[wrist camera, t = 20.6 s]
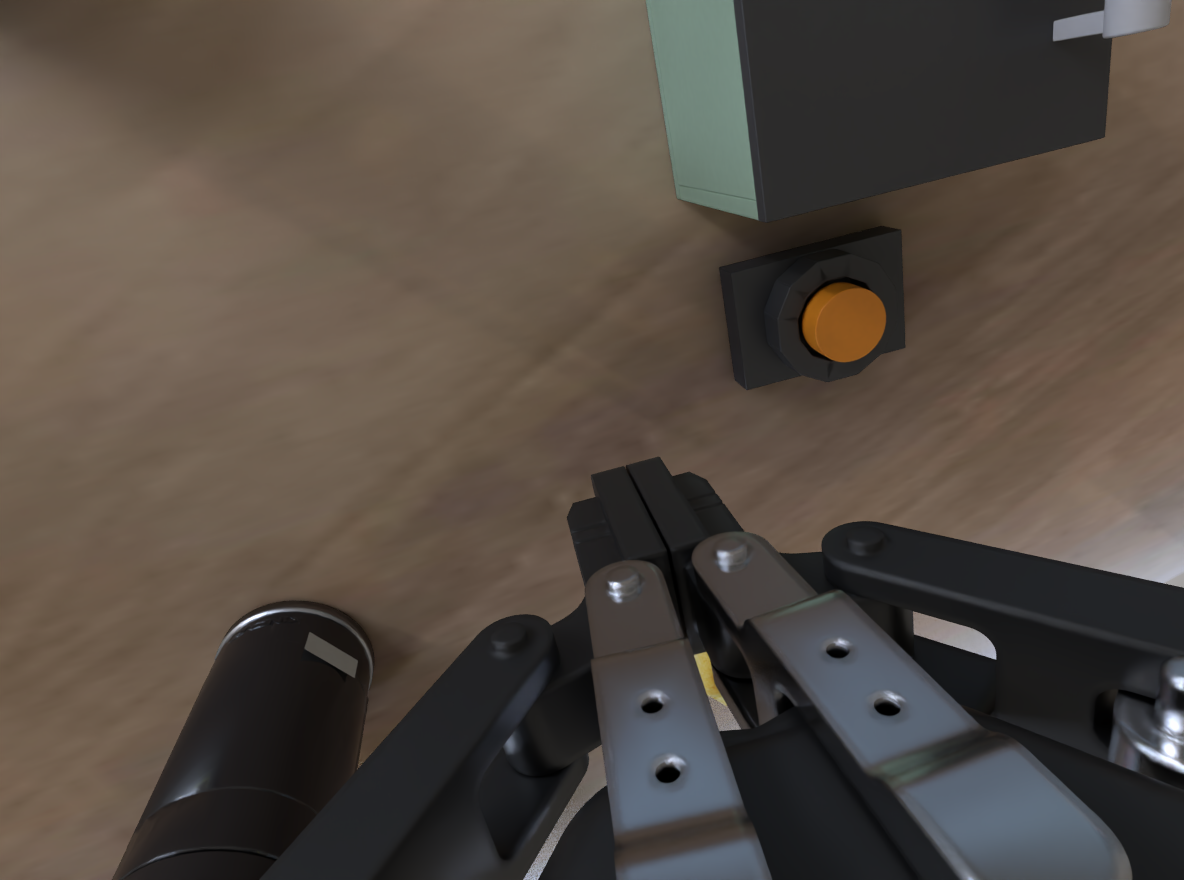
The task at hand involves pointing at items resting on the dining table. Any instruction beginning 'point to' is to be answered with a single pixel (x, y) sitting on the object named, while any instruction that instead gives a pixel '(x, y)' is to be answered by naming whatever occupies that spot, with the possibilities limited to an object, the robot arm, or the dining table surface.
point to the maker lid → (918, 89)
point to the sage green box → (704, 102)
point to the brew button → (843, 321)
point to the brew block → (781, 292)
